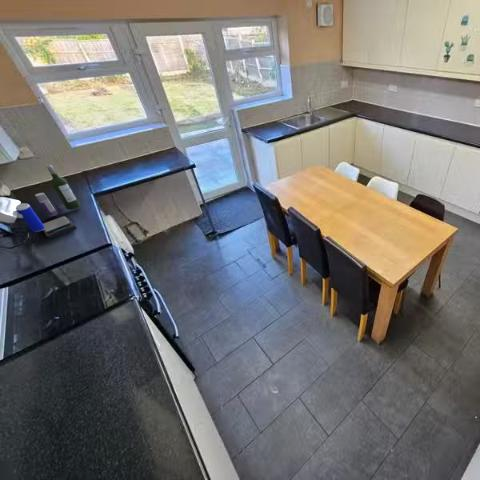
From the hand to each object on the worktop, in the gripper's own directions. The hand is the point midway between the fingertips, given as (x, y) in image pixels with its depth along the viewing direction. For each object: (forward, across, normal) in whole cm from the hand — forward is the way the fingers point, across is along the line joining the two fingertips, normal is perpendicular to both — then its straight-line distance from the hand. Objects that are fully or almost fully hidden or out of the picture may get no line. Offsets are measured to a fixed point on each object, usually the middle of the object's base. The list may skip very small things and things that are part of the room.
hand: (30, 215), depth 139 cm
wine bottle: (+22, -51, -11) cm, 57 cm away
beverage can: (+5, +1, -7) cm, 9 cm away
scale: (+17, -24, -16) cm, 34 cm away
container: (+14, -48, -19) cm, 54 cm away
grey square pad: (+14, -25, -14) cm, 32 cm away
